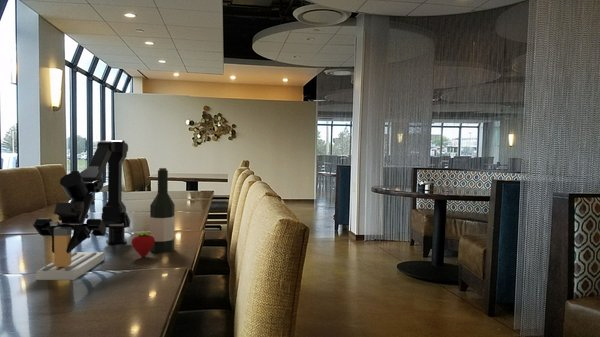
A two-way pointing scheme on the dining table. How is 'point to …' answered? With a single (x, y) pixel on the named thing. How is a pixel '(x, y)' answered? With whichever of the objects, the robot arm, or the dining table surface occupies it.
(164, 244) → the wine bottle
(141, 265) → the dining table surface
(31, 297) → the dining table surface
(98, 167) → the robot arm
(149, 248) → the strawberry
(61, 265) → the fader lever
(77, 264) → the dimmer console
